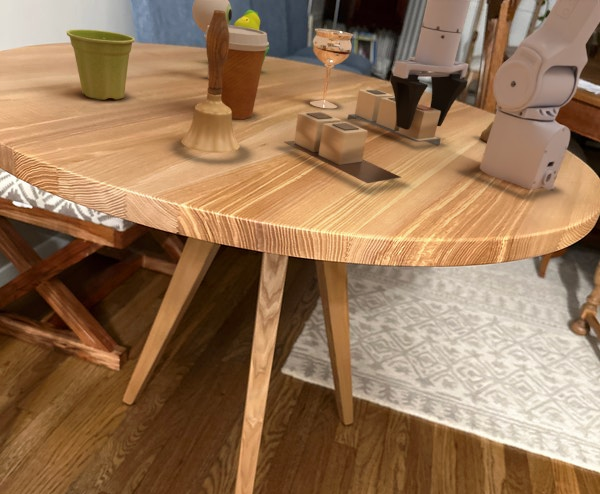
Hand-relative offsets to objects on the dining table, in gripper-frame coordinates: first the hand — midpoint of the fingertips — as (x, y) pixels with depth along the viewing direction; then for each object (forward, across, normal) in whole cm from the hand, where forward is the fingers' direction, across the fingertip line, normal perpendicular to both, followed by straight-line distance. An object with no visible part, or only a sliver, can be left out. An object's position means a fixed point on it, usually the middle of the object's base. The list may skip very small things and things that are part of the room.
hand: (418, 126), depth 87 cm
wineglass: (+3, 0, -22) cm, 22 cm away
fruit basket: (+3, -2, -52) cm, 52 cm away
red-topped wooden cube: (+1, 0, 0) cm, 1 cm away
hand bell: (+3, +34, -5) cm, 34 cm away
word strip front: (+2, +21, +5) cm, 22 cm away
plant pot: (+3, +36, -33) cm, 49 cm away
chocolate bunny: (+3, -16, +6) cm, 17 cm away
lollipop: (+3, +11, -43) cm, 44 cm away
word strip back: (+2, 0, -5) cm, 6 cm away
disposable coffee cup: (+3, +21, -20) cm, 29 cm away
